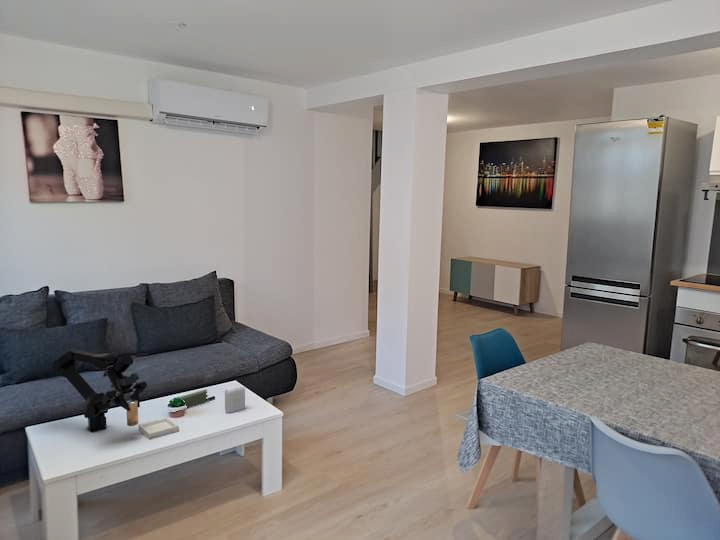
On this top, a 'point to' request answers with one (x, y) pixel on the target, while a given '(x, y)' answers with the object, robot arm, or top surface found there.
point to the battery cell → (132, 413)
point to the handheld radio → (195, 398)
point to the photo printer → (234, 398)
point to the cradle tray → (158, 428)
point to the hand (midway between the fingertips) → (134, 408)
